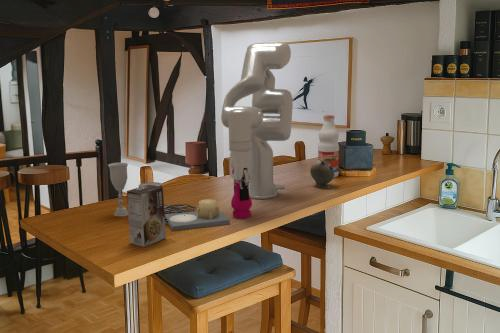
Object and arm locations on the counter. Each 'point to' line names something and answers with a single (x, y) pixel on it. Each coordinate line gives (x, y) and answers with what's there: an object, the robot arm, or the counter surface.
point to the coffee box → (146, 215)
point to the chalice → (119, 183)
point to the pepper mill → (240, 203)
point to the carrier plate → (198, 217)
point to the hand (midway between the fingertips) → (241, 197)
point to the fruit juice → (329, 144)
